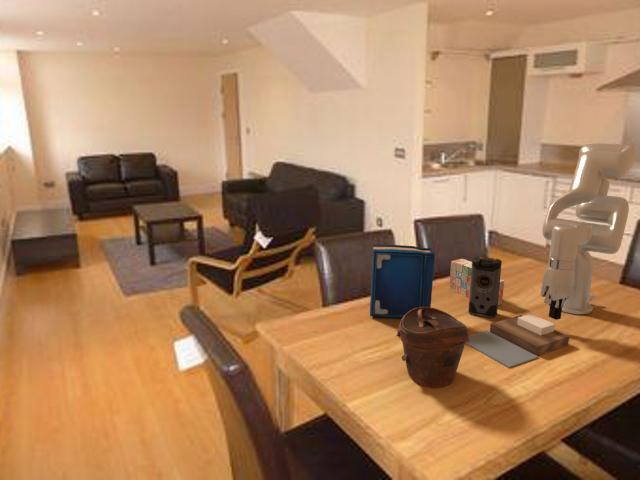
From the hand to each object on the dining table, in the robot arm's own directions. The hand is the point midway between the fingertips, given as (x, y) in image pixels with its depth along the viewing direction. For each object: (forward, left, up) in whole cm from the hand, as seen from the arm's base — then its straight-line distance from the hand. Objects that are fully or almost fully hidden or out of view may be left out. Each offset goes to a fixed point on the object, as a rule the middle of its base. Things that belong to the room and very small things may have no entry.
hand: (554, 317), depth 158 cm
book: (+36, -34, -5) cm, 50 cm away
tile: (+9, 0, 0) cm, 9 cm away
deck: (+12, 0, -5) cm, 12 cm away
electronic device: (+10, -21, -5) cm, 24 cm away
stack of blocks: (0, -35, -5) cm, 35 cm away
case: (+53, +2, -5) cm, 53 cm away
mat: (+25, 0, -5) cm, 25 cm away
